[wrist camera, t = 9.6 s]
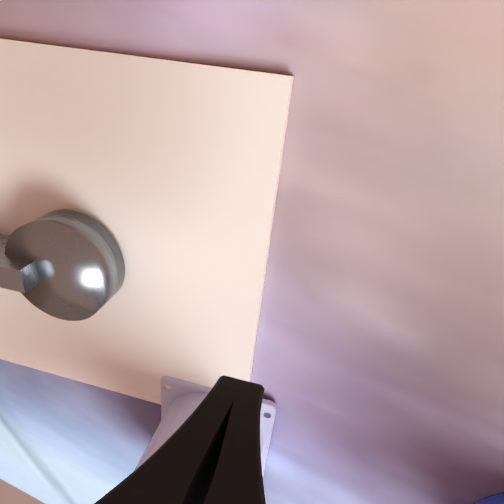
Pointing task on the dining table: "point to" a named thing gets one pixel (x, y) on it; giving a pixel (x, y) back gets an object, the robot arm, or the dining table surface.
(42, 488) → the dining table surface
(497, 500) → the water bottle
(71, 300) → the twist lock
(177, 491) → the robot arm
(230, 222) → the base
